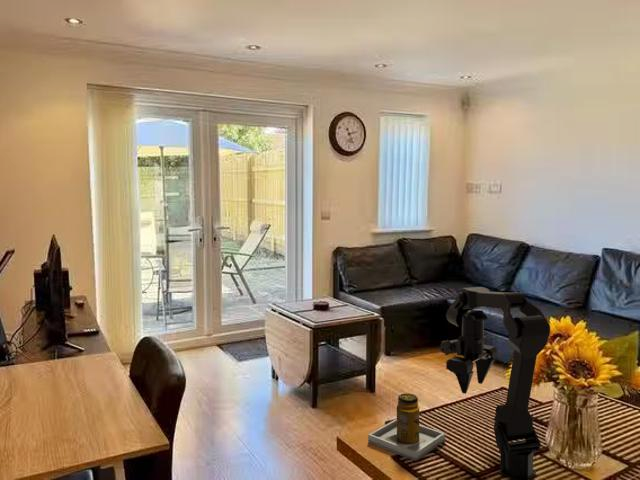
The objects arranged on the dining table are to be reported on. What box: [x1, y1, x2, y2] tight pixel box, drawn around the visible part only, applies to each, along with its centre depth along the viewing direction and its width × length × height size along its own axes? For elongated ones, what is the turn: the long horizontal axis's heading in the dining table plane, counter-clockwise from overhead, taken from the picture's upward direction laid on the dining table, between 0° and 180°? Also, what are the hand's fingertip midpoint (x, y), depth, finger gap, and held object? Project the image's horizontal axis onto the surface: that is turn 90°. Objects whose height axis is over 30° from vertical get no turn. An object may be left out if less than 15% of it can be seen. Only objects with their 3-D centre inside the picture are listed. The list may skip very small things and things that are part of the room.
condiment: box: [385, 392, 426, 448], centre depth 144 cm, size 7×8×12 cm
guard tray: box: [367, 418, 446, 462], centre depth 145 cm, size 15×14×2 cm
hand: (472, 388), depth 148 cm, fingers open, 9 cm apart
